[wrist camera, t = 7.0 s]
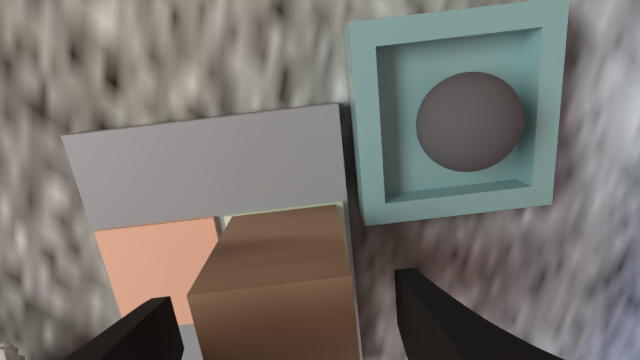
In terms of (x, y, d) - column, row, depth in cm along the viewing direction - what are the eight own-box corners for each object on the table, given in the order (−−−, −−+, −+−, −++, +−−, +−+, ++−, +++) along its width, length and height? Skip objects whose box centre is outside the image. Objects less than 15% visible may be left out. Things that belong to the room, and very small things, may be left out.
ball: (488, 155, 13) (544, 177, 10) (406, 164, 13) (436, 190, 10) (491, 68, 12) (554, 62, 9) (402, 78, 12) (434, 76, 9)
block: (345, 294, 14) (364, 404, 9) (250, 305, 14) (219, 420, 9) (335, 204, 13) (351, 275, 8) (232, 216, 13) (186, 295, 8)
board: (361, 356, 16) (364, 374, 15) (154, 380, 16) (144, 400, 15) (336, 102, 13) (338, 104, 12) (75, 132, 13) (56, 136, 12)
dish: (525, 191, 14) (552, 204, 13) (359, 210, 14) (365, 226, 13) (536, 7, 12) (569, -4, 11) (343, 29, 12) (348, 22, 11)
